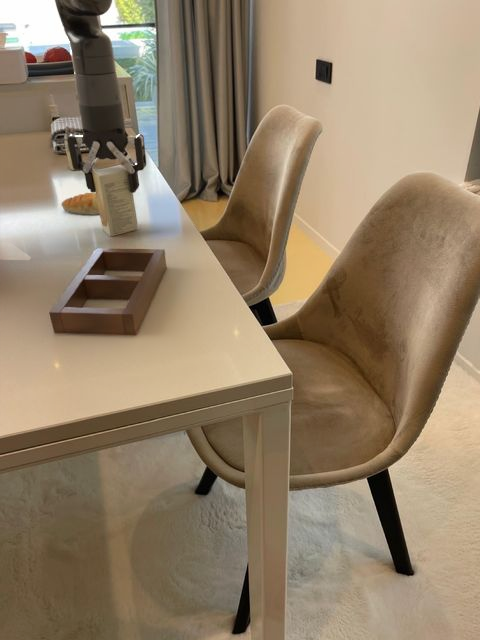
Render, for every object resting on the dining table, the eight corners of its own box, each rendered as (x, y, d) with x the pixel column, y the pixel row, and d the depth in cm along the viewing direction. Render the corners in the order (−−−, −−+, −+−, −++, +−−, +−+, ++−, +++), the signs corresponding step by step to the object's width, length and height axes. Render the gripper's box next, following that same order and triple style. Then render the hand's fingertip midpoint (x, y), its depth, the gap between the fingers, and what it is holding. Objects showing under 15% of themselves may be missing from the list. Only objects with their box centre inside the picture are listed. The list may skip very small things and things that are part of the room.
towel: (53, 143, 172) (48, 116, 168) (114, 138, 177) (110, 112, 172) (54, 156, 160) (48, 127, 156) (119, 150, 165) (115, 122, 160)
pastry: (59, 216, 120) (56, 198, 118) (67, 205, 125) (64, 188, 123) (104, 215, 120) (101, 197, 118) (109, 204, 126) (107, 188, 124)
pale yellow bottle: (83, 170, 148) (75, 130, 143) (68, 171, 147) (60, 131, 142) (82, 163, 154) (75, 124, 148) (68, 164, 153) (61, 125, 148)
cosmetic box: (129, 223, 116) (121, 163, 109) (139, 229, 113) (131, 169, 106) (100, 230, 113) (90, 169, 106) (109, 237, 110) (99, 175, 103)
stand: (56, 343, 78) (48, 312, 76) (101, 275, 96) (96, 247, 93) (137, 345, 78) (132, 314, 75) (167, 276, 96) (164, 249, 93)
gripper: (144, 96, 102) (154, 185, 111) (67, 96, 103) (83, 184, 112) (134, 104, 96) (145, 198, 105) (52, 104, 97) (71, 197, 106)
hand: (113, 191), depth 109 cm, fingers closed on cosmetic box, 7 cm apart
